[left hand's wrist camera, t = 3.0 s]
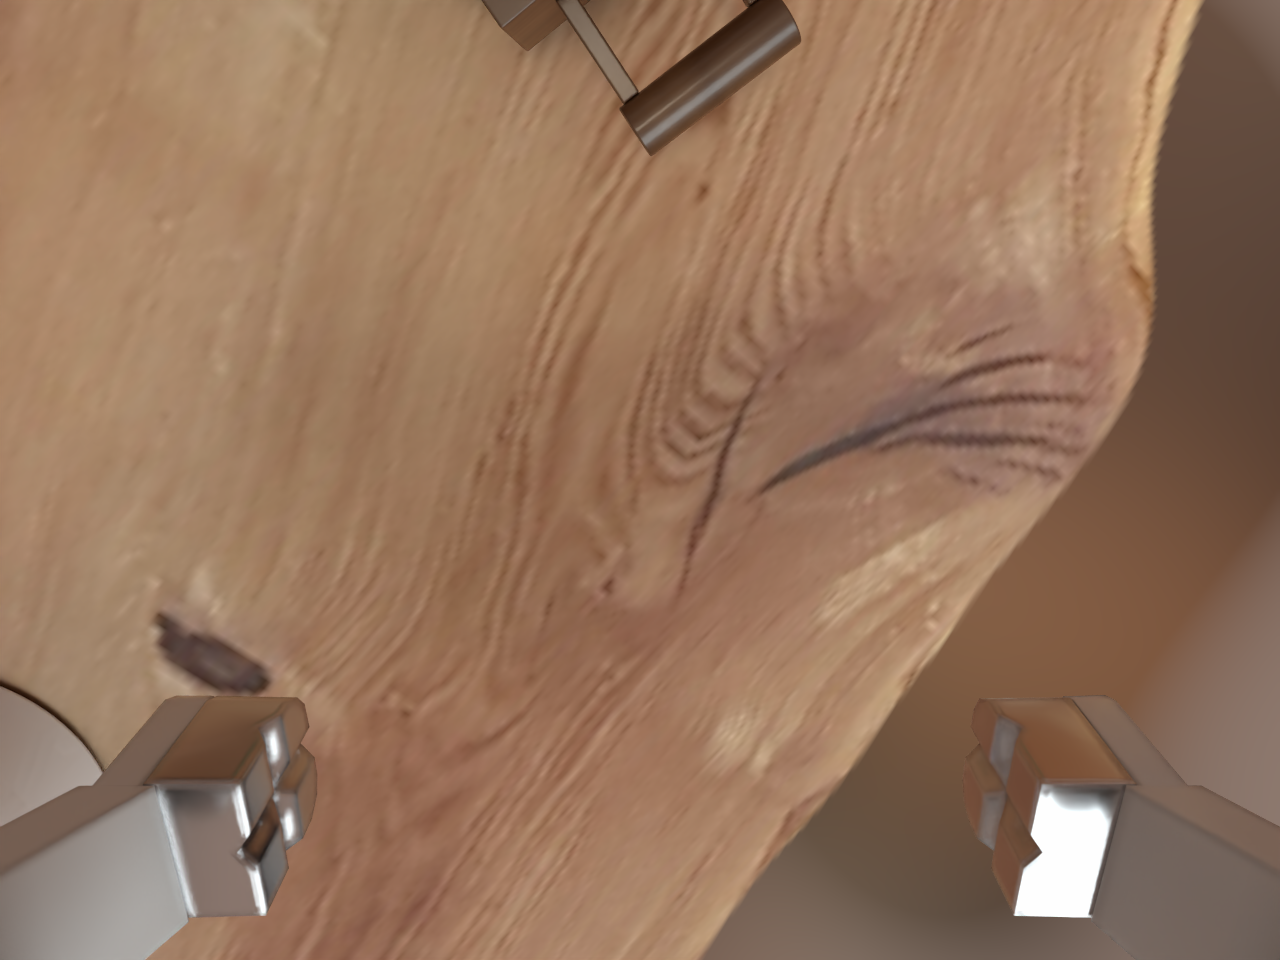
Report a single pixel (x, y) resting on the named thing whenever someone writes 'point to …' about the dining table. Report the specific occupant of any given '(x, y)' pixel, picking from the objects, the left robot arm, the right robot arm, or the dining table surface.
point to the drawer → (687, 91)
